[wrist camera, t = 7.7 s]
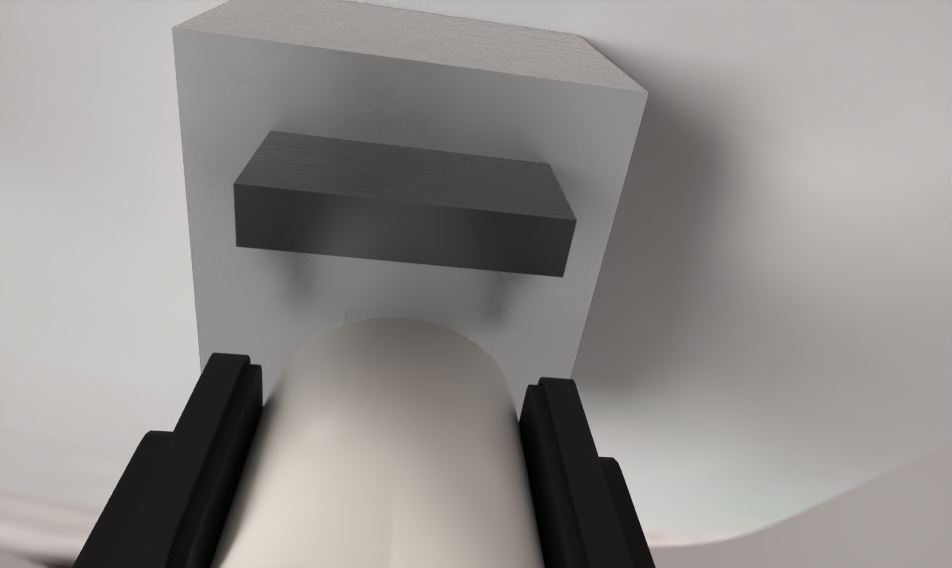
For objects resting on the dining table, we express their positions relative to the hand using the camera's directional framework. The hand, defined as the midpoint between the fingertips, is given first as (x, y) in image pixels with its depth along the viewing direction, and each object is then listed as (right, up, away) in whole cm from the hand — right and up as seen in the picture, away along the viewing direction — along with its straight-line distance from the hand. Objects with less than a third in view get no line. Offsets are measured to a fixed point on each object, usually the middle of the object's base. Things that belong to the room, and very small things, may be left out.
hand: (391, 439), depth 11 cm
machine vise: (-1, +4, +8) cm, 9 cm away
